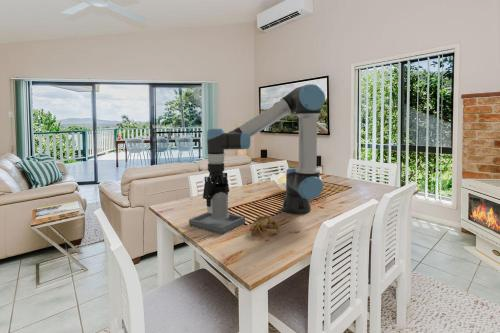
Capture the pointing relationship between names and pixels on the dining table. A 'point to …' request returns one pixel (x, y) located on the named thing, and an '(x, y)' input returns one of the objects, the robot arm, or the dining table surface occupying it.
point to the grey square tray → (217, 223)
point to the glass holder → (220, 202)
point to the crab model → (264, 222)
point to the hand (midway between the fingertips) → (216, 210)
